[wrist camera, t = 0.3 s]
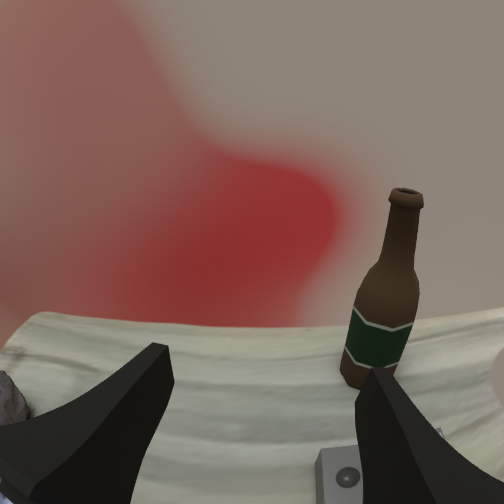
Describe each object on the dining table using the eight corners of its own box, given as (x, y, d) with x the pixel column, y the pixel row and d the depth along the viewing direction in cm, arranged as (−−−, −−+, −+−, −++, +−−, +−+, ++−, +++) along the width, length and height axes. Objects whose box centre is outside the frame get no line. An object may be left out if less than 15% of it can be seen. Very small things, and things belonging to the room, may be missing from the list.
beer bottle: (388, 352, 37) (427, 186, 26) (396, 392, 30) (459, 207, 19) (337, 351, 38) (362, 179, 28) (339, 393, 31) (378, 198, 21)
